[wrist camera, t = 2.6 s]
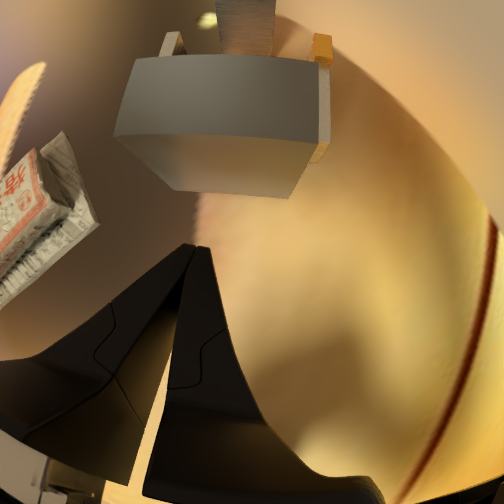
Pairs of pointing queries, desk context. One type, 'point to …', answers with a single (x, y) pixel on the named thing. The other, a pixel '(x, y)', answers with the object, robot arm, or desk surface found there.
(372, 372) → the desk surface
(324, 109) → the rack bay
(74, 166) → the packaged product
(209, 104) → the grey rectangular block
